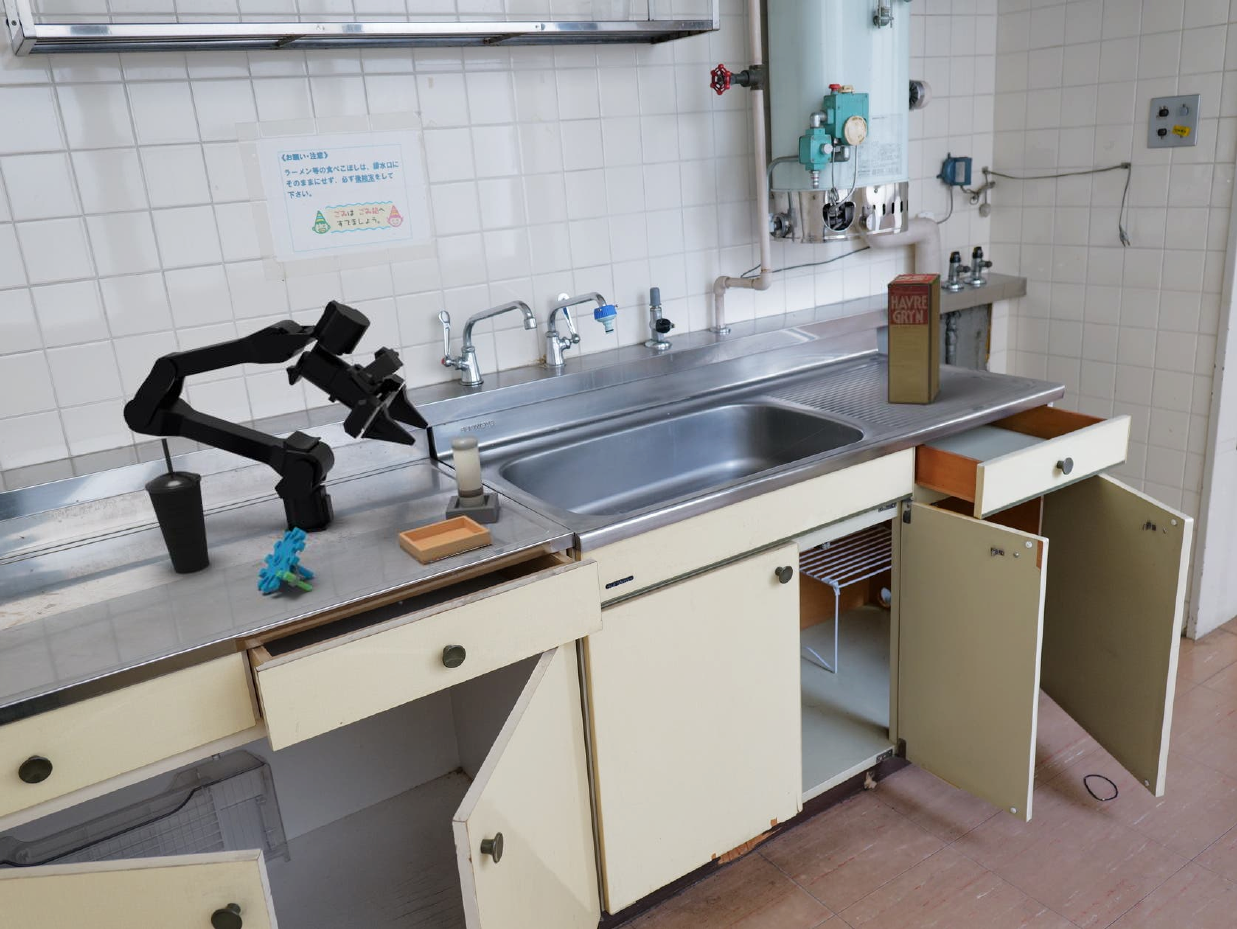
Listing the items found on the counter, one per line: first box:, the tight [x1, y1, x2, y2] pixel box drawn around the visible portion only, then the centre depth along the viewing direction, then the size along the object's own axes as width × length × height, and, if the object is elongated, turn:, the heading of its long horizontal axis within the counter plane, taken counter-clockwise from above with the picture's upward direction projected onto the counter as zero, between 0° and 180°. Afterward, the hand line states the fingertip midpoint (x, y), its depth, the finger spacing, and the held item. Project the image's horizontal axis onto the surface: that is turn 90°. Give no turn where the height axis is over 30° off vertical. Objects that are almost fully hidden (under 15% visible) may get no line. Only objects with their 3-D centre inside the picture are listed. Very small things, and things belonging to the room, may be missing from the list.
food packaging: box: [886, 273, 942, 406], centre depth 207 cm, size 13×9×25 cm
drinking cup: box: [144, 438, 210, 574], centre depth 146 cm, size 8×8×20 cm
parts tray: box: [397, 515, 492, 565], centre depth 149 cm, size 11×9×2 cm
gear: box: [256, 527, 314, 594], centre depth 139 cm, size 11×6×10 cm
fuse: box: [450, 435, 486, 508], centre depth 158 cm, size 4×4×13 cm
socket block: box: [445, 491, 500, 525], centre depth 160 cm, size 8×8×2 cm
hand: (420, 434), depth 157 cm, fingers open, 9 cm apart
